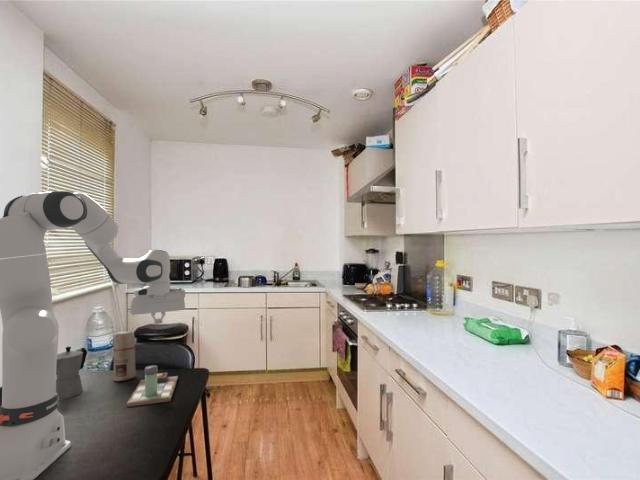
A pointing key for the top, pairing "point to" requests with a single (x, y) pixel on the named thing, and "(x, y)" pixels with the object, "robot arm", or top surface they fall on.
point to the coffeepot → (69, 372)
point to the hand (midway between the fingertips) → (158, 323)
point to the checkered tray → (163, 391)
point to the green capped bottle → (151, 381)
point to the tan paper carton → (124, 356)
